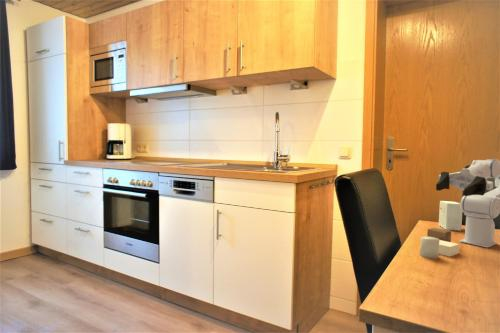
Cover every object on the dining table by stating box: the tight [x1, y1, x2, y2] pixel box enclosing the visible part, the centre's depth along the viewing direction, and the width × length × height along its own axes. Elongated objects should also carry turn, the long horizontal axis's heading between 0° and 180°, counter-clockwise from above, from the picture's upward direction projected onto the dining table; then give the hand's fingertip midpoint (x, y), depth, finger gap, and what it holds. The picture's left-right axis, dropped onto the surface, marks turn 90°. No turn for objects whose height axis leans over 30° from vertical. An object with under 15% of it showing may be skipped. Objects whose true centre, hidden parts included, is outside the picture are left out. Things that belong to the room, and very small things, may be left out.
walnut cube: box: [426, 227, 452, 242], centre depth 103 cm, size 5×5×5 cm
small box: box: [438, 200, 463, 232], centre depth 130 cm, size 8×6×10 cm
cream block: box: [439, 240, 460, 258], centre depth 95 cm, size 6×6×3 cm
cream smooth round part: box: [419, 236, 440, 260], centre depth 91 cm, size 4×4×5 cm
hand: (450, 189), depth 96 cm, fingers open, 7 cm apart
